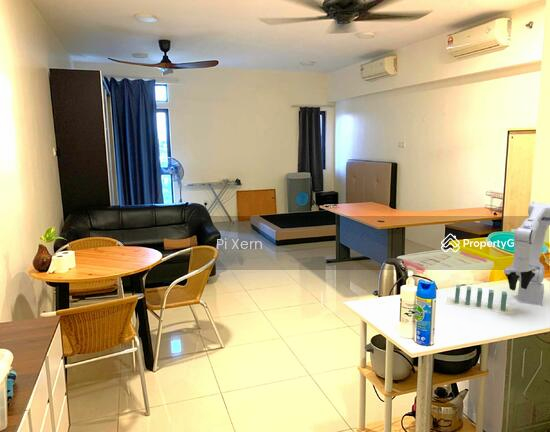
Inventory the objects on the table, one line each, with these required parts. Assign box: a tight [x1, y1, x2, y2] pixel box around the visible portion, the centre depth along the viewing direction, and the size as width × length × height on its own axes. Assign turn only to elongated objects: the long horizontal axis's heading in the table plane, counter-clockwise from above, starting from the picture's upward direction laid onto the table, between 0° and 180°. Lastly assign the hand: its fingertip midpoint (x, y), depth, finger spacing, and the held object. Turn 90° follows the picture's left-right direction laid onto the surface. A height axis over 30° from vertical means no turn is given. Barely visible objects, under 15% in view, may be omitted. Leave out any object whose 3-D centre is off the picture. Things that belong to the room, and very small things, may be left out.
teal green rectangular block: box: [500, 291, 508, 311], centre depth 174 cm, size 2×4×7 cm, turn 155°
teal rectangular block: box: [476, 287, 483, 307], centre depth 178 cm, size 2×4×7 cm, turn 155°
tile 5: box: [454, 284, 461, 304], centre depth 182 cm, size 2×4×7 cm, turn 155°
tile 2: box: [487, 289, 495, 309], centre depth 176 cm, size 2×4×7 cm, turn 155°
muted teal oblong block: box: [465, 285, 472, 305], centre depth 180 cm, size 2×4×7 cm, turn 155°
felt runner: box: [445, 296, 516, 316], centre depth 178 cm, size 26×9×1 cm, turn 65°
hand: (518, 289), depth 171 cm, fingers open, 5 cm apart
